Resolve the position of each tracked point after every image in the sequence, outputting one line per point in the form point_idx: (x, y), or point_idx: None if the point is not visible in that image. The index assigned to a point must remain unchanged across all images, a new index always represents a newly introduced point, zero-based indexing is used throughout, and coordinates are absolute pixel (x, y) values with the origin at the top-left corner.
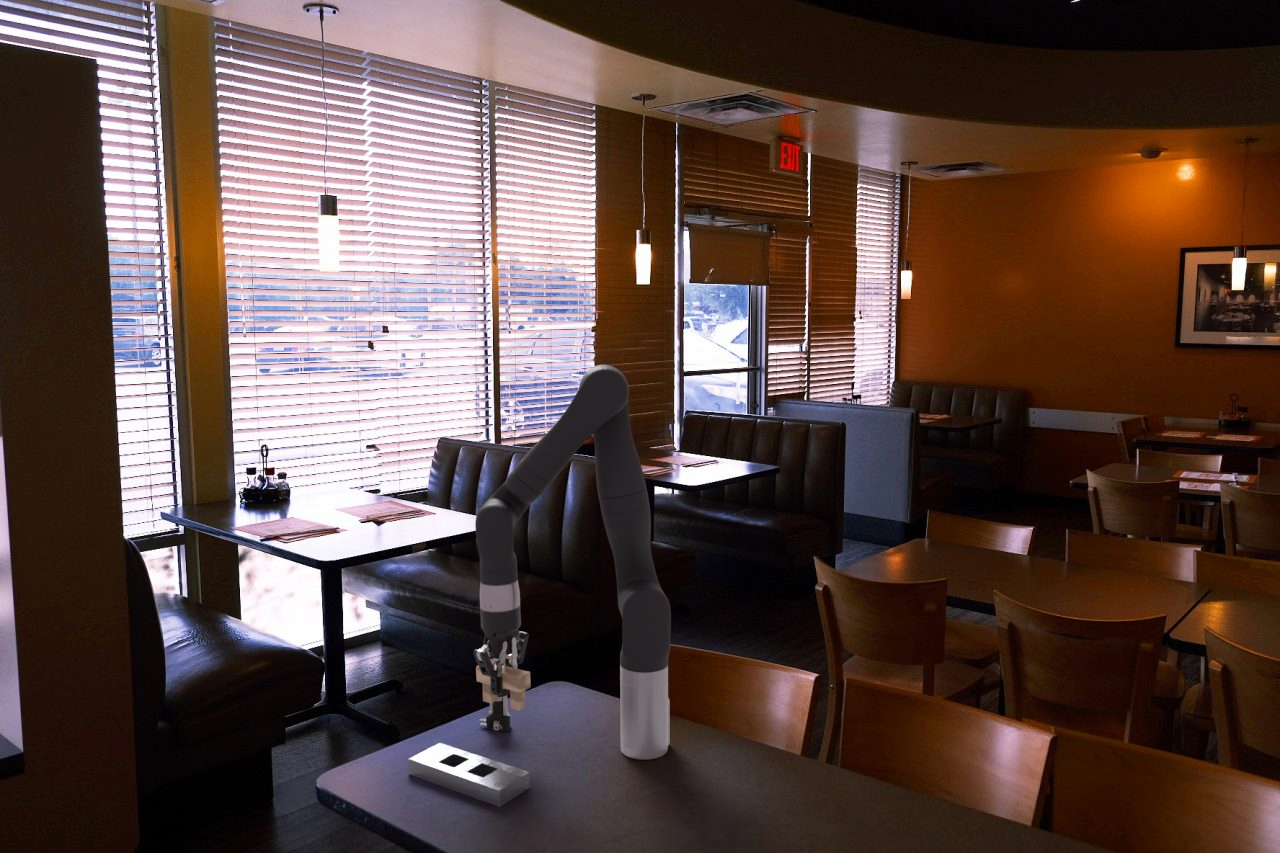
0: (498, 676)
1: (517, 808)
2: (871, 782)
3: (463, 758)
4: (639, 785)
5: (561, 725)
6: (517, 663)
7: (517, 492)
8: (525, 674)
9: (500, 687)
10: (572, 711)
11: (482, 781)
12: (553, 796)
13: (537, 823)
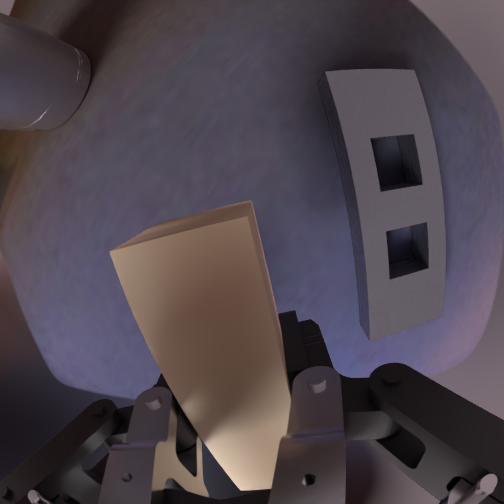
0: (330, 370)
1: (376, 53)
2: None
3: (386, 248)
4: None
5: (96, 273)
6: (126, 413)
7: None
8: (165, 235)
9: (298, 330)
10: (63, 302)
11: (422, 123)
12: (299, 32)
13: (372, 6)
